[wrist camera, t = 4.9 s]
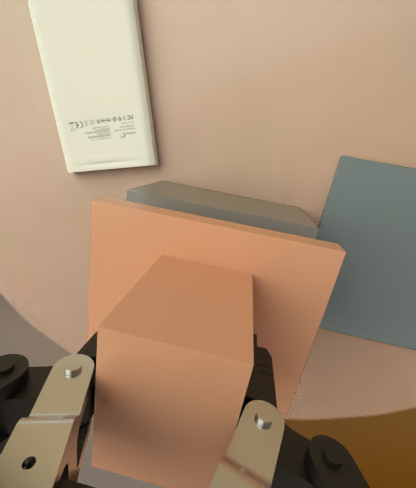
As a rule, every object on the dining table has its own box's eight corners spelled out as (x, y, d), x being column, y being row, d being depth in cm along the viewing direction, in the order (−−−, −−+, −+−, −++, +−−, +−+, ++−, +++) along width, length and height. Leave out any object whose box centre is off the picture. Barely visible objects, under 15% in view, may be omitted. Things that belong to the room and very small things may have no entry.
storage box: (160, 180, 24) (127, 190, 17) (298, 207, 23) (319, 228, 16) (149, 282, 27) (117, 322, 20) (269, 309, 26) (277, 361, 19)
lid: (114, 193, 15) (-29, 233, 7) (331, 236, 14) (429, 336, 6) (106, 338, 19) (1, 473, 11) (282, 382, 18) (307, 566, 10)
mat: (340, 156, 21) (342, 156, 21) (563, 195, 20) (569, 196, 20) (289, 318, 26) (290, 321, 26) (465, 358, 25) (469, 361, 24)
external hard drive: (138, -9, 20) (160, 164, 24) (40, 10, 22) (76, 172, 25) (129, -22, 19) (154, 165, 22) (24, -1, 20) (65, 173, 24)
